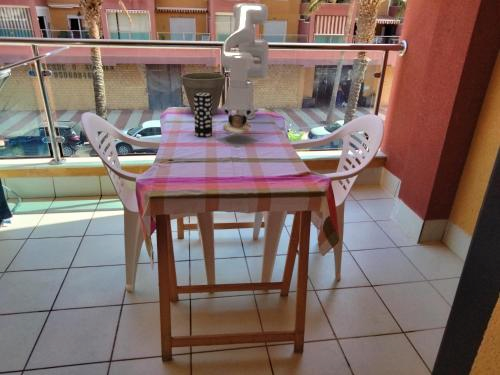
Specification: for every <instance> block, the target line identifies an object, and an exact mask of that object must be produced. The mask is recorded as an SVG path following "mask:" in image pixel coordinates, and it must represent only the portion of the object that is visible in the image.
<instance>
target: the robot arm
mask: <svg viewBox="0 0 500 375" xmlns="http://www.w3.org/2000/svg"><path fill="white" fill-rule="evenodd" d="M232 13H233V17H234V26H233V27H234V28H233V32H232V33H231V34H229V36H228V37H226V39H225V40H224V41H223V43H222V48H221V54H220V56H221V58H220V62H221V66H222V68H224V69H226V70H229V85H228V87H227V92H226V101H225V102H223V104H222V105H221V107H220V109H221V110H222V111H223V112H224V113H225V114H226V115H227V116H228V117H227V118H228V119H227V121H228V122H227V123H230V125H231V121H232V115H236V114H239V115H242V116H244V120H243V125H245V123H248V122H247V121H248V120H253V119H255V118H256V114H255V113H257V112H259V108H255V107H254V96H255V95H254V94H255V86H254V83H253V81H252V80H251V79H265V78H267V76H268V70H269V43H268V41H267V40H266V39H263V38H256V28H255V25H258V26H259V25H261V26H263V25H265V24H266V23H267V20H268V17H269V8H268V5H267V4H265V3H254V2H253V3H252V2H239V3H235V4H234V5H233V7H232ZM236 46H238V51H230V50H232V48H234V47H236ZM254 58H255V59H254ZM257 58H258V59H257ZM233 111H235V113H234V114H232V112H233Z"/></svg>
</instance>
